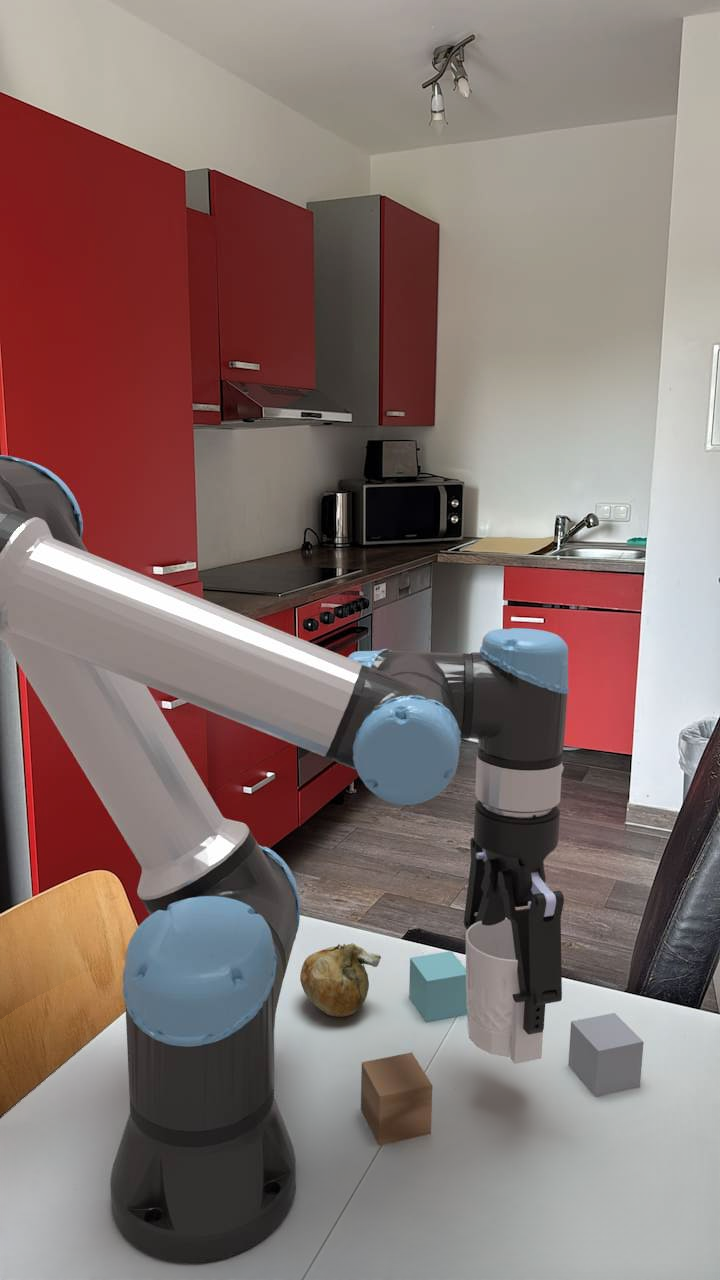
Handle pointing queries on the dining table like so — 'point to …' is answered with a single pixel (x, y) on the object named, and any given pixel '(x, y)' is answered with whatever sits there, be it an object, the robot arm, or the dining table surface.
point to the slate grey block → (605, 1054)
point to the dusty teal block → (438, 986)
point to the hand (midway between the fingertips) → (505, 1031)
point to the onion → (338, 978)
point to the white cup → (491, 986)
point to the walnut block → (396, 1098)
